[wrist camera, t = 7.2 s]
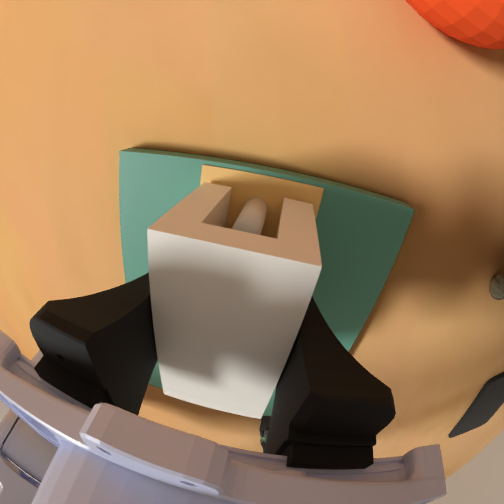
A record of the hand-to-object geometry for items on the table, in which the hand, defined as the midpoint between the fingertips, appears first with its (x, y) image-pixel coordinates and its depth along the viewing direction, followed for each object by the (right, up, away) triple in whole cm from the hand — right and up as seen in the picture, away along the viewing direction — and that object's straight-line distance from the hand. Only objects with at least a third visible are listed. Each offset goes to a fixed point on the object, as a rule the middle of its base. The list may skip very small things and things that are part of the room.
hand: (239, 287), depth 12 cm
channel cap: (0, 0, +1) cm, 1 cm away
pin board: (0, -3, +4) cm, 5 cm away
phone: (+30, -17, +7) cm, 35 cm away
